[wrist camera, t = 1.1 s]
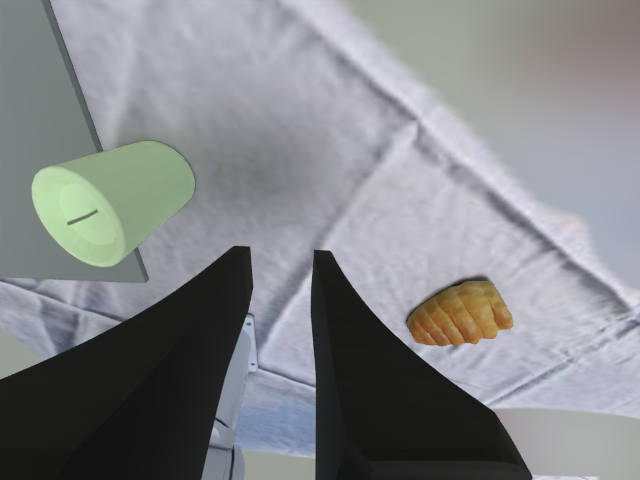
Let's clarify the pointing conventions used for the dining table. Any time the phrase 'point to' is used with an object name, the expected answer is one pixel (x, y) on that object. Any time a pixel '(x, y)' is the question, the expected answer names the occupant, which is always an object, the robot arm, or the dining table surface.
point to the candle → (112, 199)
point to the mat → (41, 144)
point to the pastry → (460, 315)
